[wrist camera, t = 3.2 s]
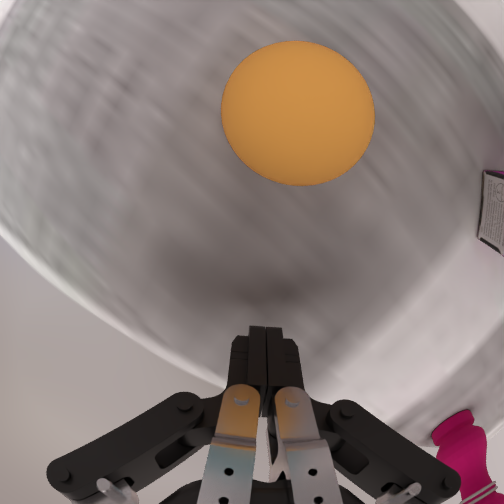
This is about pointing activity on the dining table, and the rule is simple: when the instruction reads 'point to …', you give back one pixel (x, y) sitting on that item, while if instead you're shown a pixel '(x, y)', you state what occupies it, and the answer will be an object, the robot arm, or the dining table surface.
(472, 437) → the pepper mill
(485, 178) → the candy bar box
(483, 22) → the dining table surface
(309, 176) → the ball
